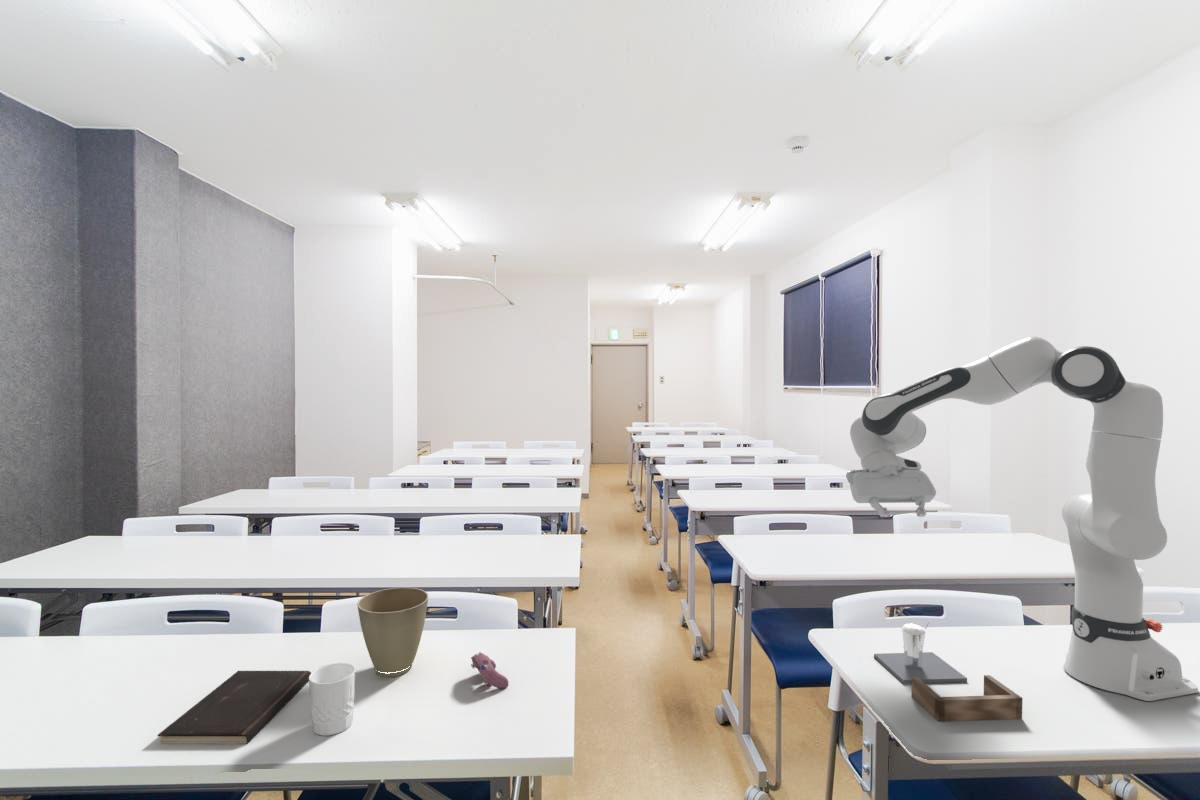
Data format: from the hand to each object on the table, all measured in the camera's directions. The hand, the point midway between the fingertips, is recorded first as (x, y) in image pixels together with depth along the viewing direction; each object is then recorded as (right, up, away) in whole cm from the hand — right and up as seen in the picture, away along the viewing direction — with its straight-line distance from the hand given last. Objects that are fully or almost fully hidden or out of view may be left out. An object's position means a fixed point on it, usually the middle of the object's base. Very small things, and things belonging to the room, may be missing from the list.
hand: (903, 515), depth 143 cm
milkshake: (-4, -31, -13) cm, 34 cm away
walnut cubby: (-2, -32, -28) cm, 43 cm away
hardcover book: (-145, -33, -28) cm, 151 cm away
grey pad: (-3, -32, -13) cm, 34 cm away
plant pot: (-120, -32, -12) cm, 125 cm away
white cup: (-124, -33, -34) cm, 133 cm away
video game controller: (-98, -32, -17) cm, 105 cm away
